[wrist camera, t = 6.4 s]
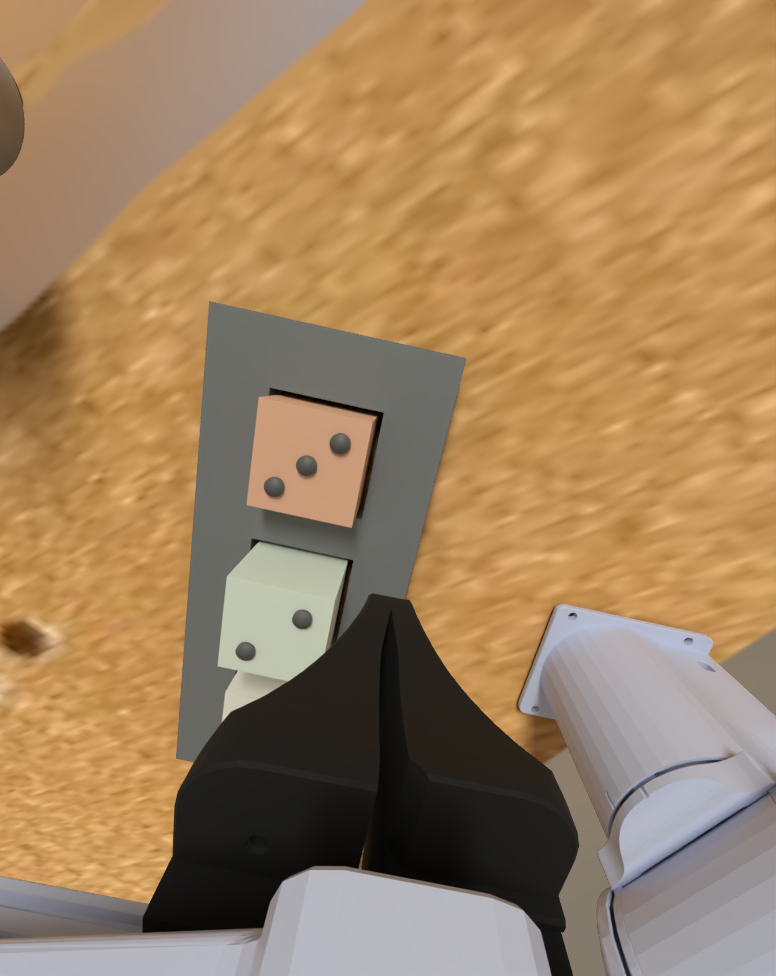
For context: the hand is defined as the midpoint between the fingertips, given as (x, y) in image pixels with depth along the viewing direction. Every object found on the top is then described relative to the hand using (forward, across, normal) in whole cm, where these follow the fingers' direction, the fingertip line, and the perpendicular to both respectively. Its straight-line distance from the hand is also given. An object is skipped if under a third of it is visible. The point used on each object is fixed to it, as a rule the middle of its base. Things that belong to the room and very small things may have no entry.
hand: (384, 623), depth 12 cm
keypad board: (+10, +5, +5) cm, 12 cm away
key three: (+10, +4, -3) cm, 11 cm away
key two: (+9, +5, +5) cm, 11 cm away
